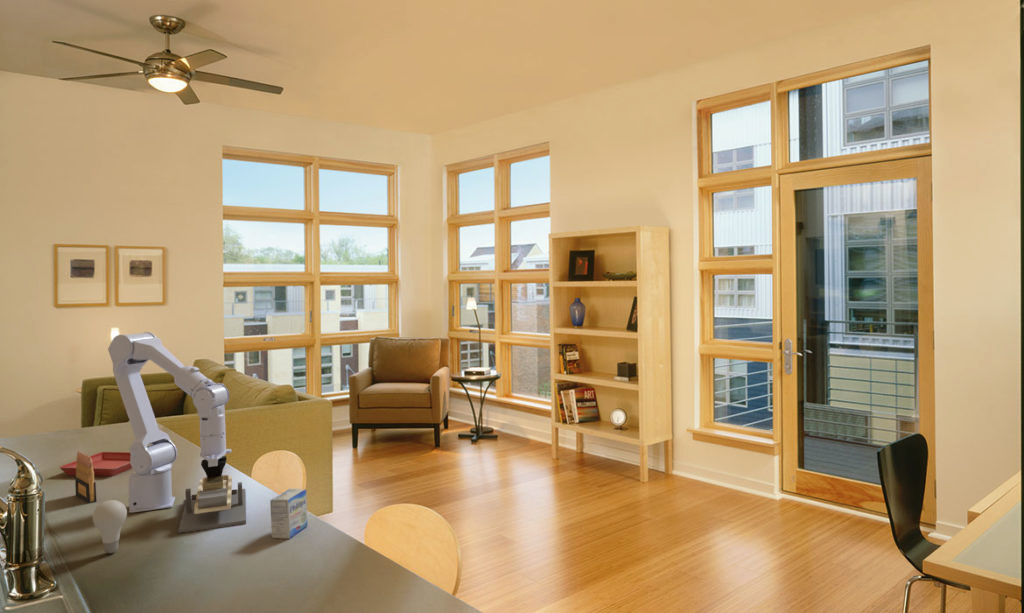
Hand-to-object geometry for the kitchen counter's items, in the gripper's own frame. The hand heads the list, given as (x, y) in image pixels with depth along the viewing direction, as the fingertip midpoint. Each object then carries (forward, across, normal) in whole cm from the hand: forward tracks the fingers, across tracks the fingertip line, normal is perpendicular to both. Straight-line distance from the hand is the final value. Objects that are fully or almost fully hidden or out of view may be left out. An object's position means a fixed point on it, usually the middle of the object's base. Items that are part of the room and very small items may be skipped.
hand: (215, 488), depth 161 cm
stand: (+5, -1, 0) cm, 5 cm away
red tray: (+6, +56, +32) cm, 65 cm away
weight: (+1, -4, 0) cm, 4 cm away
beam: (+1, -1, 0) cm, 2 cm away
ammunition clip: (+5, +25, +32) cm, 41 cm away
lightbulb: (+5, -20, +19) cm, 28 cm away
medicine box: (+6, -24, -16) cm, 29 cm away
